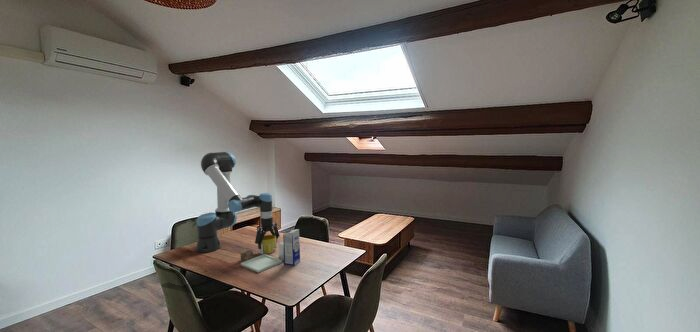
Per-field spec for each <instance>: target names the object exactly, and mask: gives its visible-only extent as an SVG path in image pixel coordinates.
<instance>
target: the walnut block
mask: <svg viewBox="0 0 700 332" xmlns="http://www.w3.org/2000/svg"><path fill="white" fill-rule="evenodd" d="M253 258H254V251H253V250H249V249H246V250H245V249H244V250H243V251H242V252H241V251H240V261H241V262H245V261H247V260H250V259H253Z"/></svg>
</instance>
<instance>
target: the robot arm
mask: <svg viewBox="0 0 700 332" xmlns="http://www.w3.org/2000/svg"><path fill="white" fill-rule="evenodd" d="M236 164H237V161H236V157H235V155H234V154H233V153H232V152H229V151H220V152H219V151H218V152H208V153H206V154H205V155H204V156H203V157H202V158H201V161H200V168H201V171H202V172H203V173H204V175H206V176H208V177H209V178H210V179H211V181H212V182H213V183H214V185H215V186H216V196H217V199H216V201H217V205H216V206H217V207H216V209H215V211H214V212H208V213H207V212H206V213H202V214H200V215H199V216H198V217H197V219H196V226H197V227H196V228H197V240H196V241H197V243H196V246H195V252H196V253H204V254H205V253H211V252H214V251H217V250H219V249H221V248H222V246H221V245H222V244H221V241H220V240H219V237H218V231H221V230H224V229H228V228H230V227H232V226H234V225H235V224H236V223H237V220H238V215H237V213H239V212H241V211H245V210H249V209H252V208H259V211H260V212H259V213H260V214H259V215H260V224H261V226H260V227H257V228H256V235H255V240H254V244H257V249H258V251H259V252H258V253H259V254H260V255H263V254H264V253H263V244H262V240H263V238H264V236H265V235H267V234H266V233H268V232H270V235H273V236H276V242H275V246H274V250H275V249H277V248H278V245H277V244H278V239H279V238H280V232H279V229H278V224H277V223H276V222H274V217H273V196H272V195H273V194H272V193H271V192H262V193H259V195H255V194H249V195H247V196H246V197H241V195H240V194H239V193H238V192H237V190H236V189H235V188H234V186H233V185H232V184H231V173H232V172H233V168H235V166H236Z"/></svg>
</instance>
